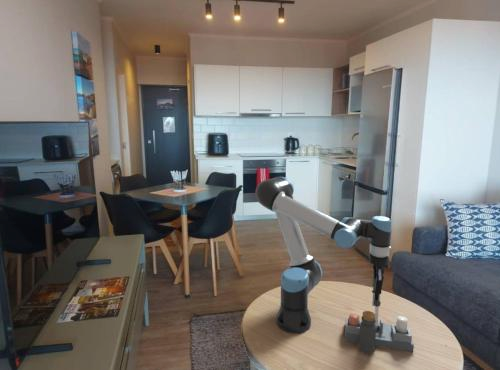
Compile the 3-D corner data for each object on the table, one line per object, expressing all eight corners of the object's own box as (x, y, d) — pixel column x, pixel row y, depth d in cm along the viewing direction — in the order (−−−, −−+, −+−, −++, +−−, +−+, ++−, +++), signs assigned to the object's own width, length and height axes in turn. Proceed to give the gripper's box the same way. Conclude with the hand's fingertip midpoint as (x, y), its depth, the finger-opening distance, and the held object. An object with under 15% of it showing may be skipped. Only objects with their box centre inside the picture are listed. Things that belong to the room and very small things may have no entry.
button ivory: (396, 332, 130) (397, 321, 129) (395, 326, 134) (396, 315, 133) (407, 334, 129) (408, 322, 128) (405, 328, 133) (406, 317, 132)
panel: (345, 340, 134) (346, 324, 133) (344, 324, 145) (345, 308, 144) (413, 351, 128) (414, 334, 126) (407, 333, 139) (408, 317, 138)
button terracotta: (348, 329, 135) (349, 318, 134) (348, 324, 139) (349, 313, 138) (358, 331, 134) (359, 319, 133) (358, 325, 138) (359, 314, 137)
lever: (372, 329, 135) (373, 299, 137) (371, 328, 138) (372, 298, 140) (380, 330, 134) (381, 300, 137) (379, 329, 137) (380, 299, 140)
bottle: (377, 353, 127) (380, 317, 124) (364, 355, 125) (367, 319, 123) (368, 343, 132) (370, 308, 130) (355, 346, 131) (357, 311, 128)
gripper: (391, 261, 129) (387, 315, 134) (386, 248, 141) (382, 298, 146) (371, 259, 131) (367, 313, 136) (368, 247, 143) (365, 296, 148)
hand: (375, 305), depth 141 cm, fingers closed
